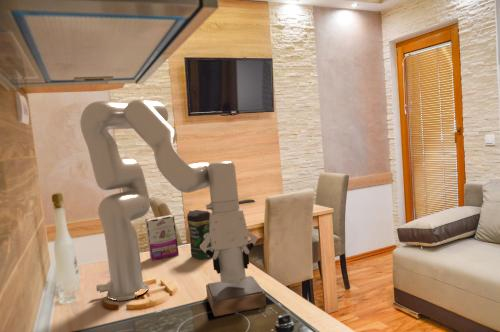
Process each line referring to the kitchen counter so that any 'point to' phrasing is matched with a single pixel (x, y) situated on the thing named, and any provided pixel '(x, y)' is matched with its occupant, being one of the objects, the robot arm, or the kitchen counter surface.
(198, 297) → the kitchen counter surface
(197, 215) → the coffee jar
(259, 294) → the walnut plinth
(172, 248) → the candy bar box
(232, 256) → the skincare box
